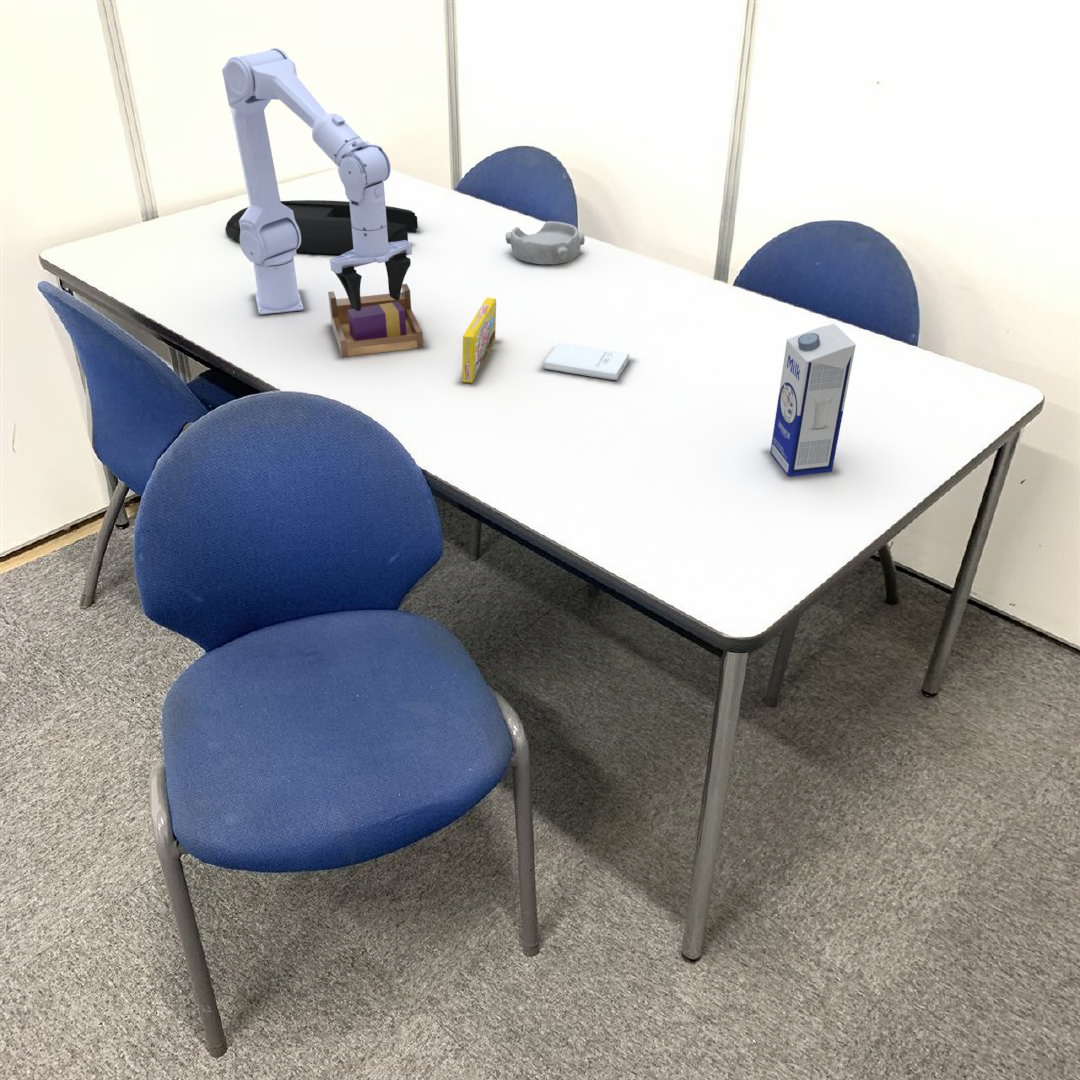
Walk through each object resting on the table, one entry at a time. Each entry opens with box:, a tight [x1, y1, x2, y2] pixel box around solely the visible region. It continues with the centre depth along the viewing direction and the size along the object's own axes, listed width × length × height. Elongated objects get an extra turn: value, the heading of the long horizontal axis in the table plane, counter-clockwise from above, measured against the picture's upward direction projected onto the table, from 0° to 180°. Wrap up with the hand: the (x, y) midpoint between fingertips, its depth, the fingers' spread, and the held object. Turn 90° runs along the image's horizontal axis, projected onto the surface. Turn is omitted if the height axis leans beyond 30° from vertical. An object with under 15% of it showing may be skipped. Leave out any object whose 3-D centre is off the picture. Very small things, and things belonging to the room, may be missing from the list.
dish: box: [505, 220, 586, 265], centre depth 224 cm, size 14×14×5 cm
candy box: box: [461, 297, 497, 384], centre depth 183 cm, size 16×2×8 cm, turn 169°
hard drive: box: [543, 342, 630, 381], centre depth 184 cm, size 2×8×12 cm
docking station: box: [224, 199, 419, 255], centre depth 233 cm, size 25×41×5 cm, turn 82°
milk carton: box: [770, 323, 857, 477], centre depth 153 cm, size 7×7×20 cm
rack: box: [327, 283, 424, 358], centre depth 191 cm, size 13×14×6 cm
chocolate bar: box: [348, 302, 407, 341], centre depth 189 cm, size 4×9×4 cm, turn 113°
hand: (375, 303), depth 187 cm, fingers open, 7 cm apart
